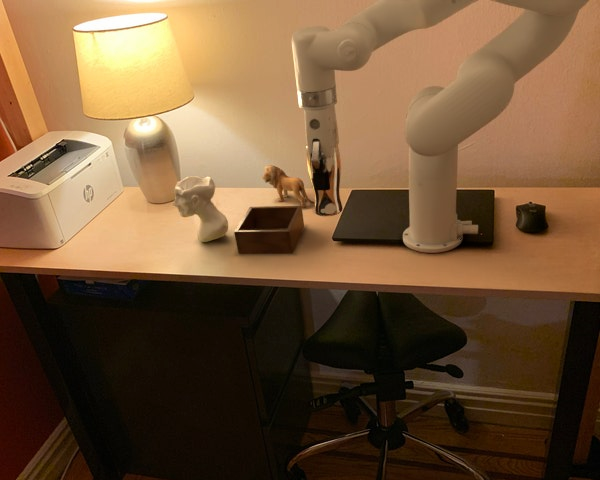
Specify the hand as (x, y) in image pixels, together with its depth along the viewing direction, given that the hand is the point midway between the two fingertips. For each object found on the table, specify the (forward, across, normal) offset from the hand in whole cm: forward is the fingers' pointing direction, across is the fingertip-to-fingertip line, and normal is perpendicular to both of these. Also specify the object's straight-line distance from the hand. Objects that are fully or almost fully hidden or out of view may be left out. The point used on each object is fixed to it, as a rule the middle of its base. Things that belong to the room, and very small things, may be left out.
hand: (325, 181), depth 125 cm
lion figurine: (+14, +20, +15) cm, 29 cm away
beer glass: (+7, 0, 0) cm, 7 cm away
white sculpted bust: (+14, 0, +30) cm, 33 cm away
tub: (+14, 0, +14) cm, 20 cm away
